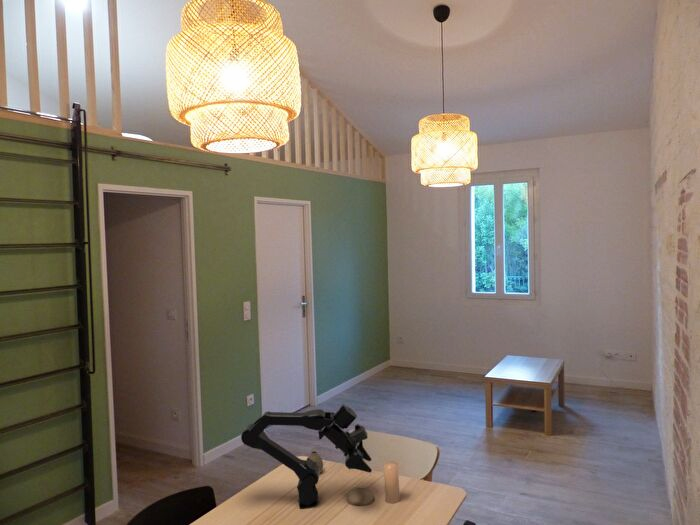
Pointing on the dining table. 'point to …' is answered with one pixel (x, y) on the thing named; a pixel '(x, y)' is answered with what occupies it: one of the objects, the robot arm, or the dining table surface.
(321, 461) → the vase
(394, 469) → the tan tapered cylinder
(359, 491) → the stand
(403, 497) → the dining table surface
